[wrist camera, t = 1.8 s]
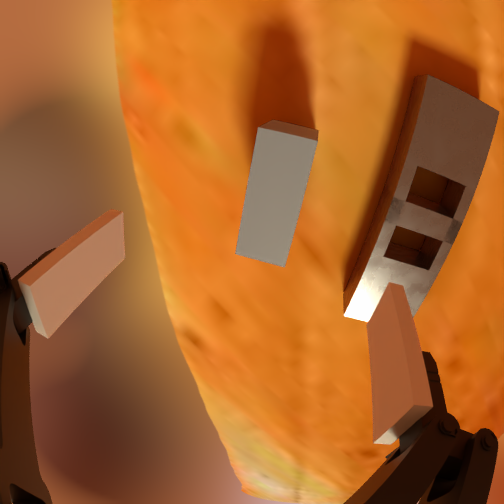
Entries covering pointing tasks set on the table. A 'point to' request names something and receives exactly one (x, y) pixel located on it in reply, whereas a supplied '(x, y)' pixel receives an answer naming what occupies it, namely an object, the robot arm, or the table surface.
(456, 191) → the block with rectangular hole
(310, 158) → the upright grey box
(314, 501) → the table surface
